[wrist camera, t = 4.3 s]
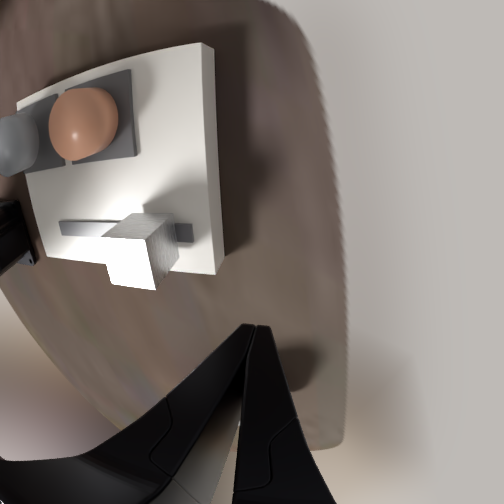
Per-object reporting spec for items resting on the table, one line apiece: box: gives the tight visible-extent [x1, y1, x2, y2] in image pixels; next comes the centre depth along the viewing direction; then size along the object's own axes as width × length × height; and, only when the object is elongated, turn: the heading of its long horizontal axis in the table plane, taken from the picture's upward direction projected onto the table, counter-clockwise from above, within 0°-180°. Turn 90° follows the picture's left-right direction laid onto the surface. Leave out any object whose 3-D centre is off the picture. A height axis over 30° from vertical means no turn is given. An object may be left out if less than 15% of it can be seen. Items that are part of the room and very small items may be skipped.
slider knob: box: [100, 213, 180, 290], centre depth 13 cm, size 2×2×3 cm
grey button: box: [0, 113, 39, 177], centre depth 11 cm, size 4×4×2 cm
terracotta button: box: [49, 87, 118, 161], centre depth 11 cm, size 4×4×2 cm
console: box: [16, 42, 225, 275], centre depth 15 cm, size 14×12×2 cm
